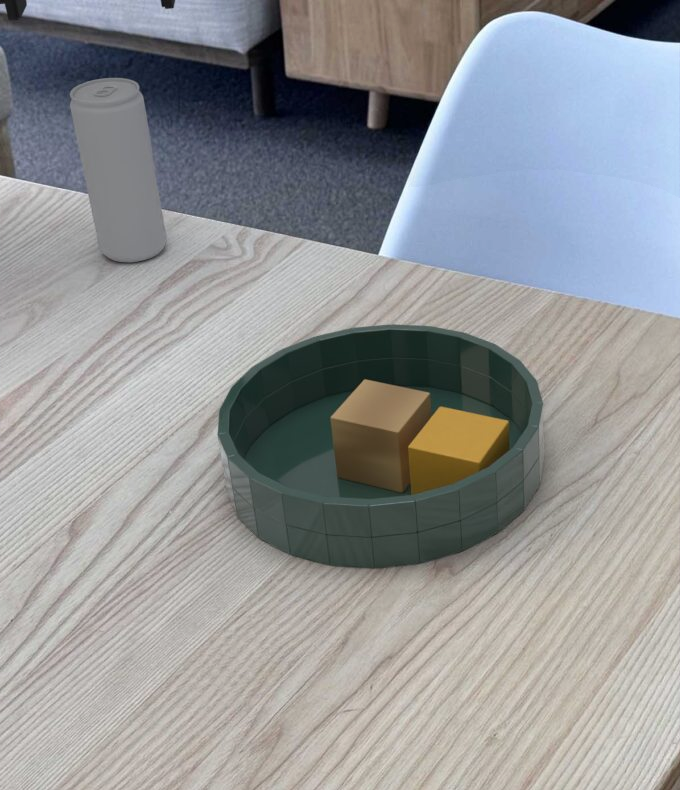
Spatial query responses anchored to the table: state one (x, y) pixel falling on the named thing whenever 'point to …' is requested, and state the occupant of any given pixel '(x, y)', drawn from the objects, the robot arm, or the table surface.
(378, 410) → the maple block
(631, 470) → the table surface
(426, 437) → the mustard block
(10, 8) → the robot arm
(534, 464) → the bowl
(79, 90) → the beverage can
